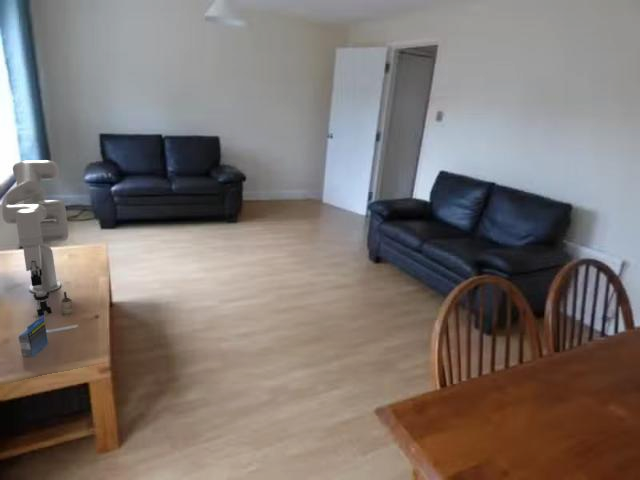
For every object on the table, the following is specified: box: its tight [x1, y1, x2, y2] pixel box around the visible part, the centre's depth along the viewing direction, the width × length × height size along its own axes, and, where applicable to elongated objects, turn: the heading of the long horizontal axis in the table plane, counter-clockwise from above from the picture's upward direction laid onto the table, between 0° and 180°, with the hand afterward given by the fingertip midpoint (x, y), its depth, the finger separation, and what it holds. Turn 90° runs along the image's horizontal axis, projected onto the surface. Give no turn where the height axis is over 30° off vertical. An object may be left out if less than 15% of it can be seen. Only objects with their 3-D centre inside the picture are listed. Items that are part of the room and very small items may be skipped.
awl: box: [60, 291, 74, 317], centre depth 175 cm, size 4×4×10 cm
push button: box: [32, 290, 52, 317], centre depth 172 cm, size 7×5×10 cm
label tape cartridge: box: [18, 315, 49, 358], centre depth 150 cm, size 9×4×12 cm, turn 178°
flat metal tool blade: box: [46, 324, 79, 334], centre depth 165 cm, size 2×13×1 cm, turn 122°
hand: (37, 280), depth 169 cm, fingers open, 9 cm apart
